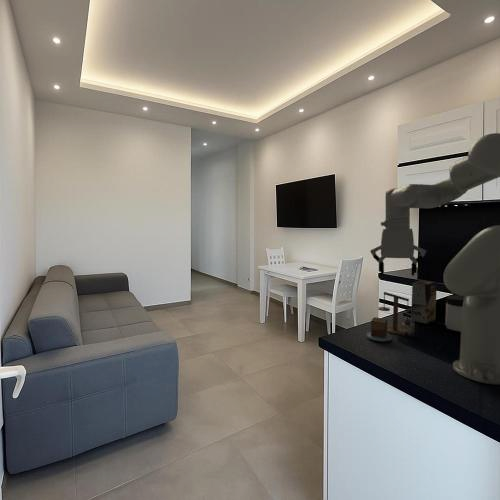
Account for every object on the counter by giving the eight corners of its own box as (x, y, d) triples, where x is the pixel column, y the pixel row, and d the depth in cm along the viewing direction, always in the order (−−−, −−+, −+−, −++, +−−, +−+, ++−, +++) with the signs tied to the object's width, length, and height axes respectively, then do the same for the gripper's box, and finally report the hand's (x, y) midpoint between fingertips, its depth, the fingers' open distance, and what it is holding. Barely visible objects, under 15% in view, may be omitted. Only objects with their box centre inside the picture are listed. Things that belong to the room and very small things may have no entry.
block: (384, 338, 107) (385, 322, 106) (370, 335, 109) (371, 320, 109) (387, 334, 111) (387, 319, 110) (373, 332, 113) (374, 317, 113)
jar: (473, 333, 114) (475, 301, 113) (447, 330, 118) (449, 299, 117) (467, 326, 123) (469, 295, 122) (443, 323, 126) (445, 294, 125)
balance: (412, 337, 111) (413, 296, 110) (376, 331, 118) (377, 292, 116) (413, 333, 115) (414, 293, 114) (379, 328, 121) (379, 290, 120)
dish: (389, 344, 105) (389, 340, 104) (364, 340, 109) (364, 336, 109) (392, 337, 111) (392, 333, 111) (369, 333, 116) (369, 329, 115)
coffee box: (426, 324, 125) (428, 284, 124) (410, 320, 130) (411, 282, 129) (435, 319, 131) (437, 281, 130) (419, 316, 136) (421, 279, 135)
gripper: (368, 225, 108) (368, 274, 109) (426, 223, 99) (425, 277, 100) (372, 225, 114) (372, 272, 115) (426, 224, 106) (426, 274, 107)
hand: (397, 274), depth 108 cm, fingers open, 9 cm apart
